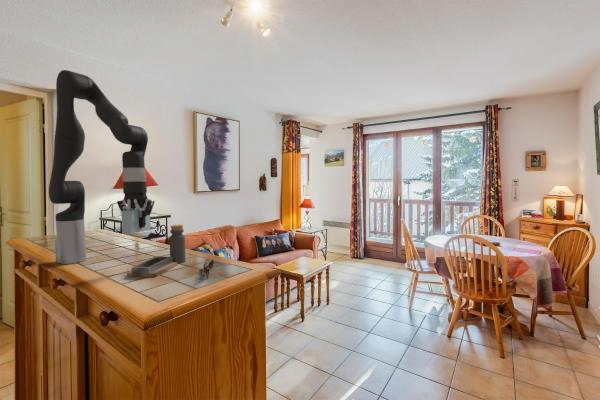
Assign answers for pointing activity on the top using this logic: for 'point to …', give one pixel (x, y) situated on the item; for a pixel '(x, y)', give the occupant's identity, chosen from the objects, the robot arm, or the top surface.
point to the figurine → (207, 266)
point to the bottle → (177, 244)
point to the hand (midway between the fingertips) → (137, 227)
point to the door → (133, 222)
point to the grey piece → (153, 267)
